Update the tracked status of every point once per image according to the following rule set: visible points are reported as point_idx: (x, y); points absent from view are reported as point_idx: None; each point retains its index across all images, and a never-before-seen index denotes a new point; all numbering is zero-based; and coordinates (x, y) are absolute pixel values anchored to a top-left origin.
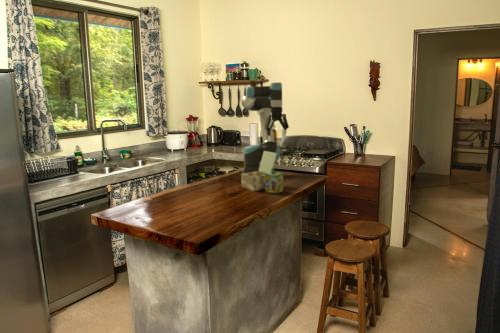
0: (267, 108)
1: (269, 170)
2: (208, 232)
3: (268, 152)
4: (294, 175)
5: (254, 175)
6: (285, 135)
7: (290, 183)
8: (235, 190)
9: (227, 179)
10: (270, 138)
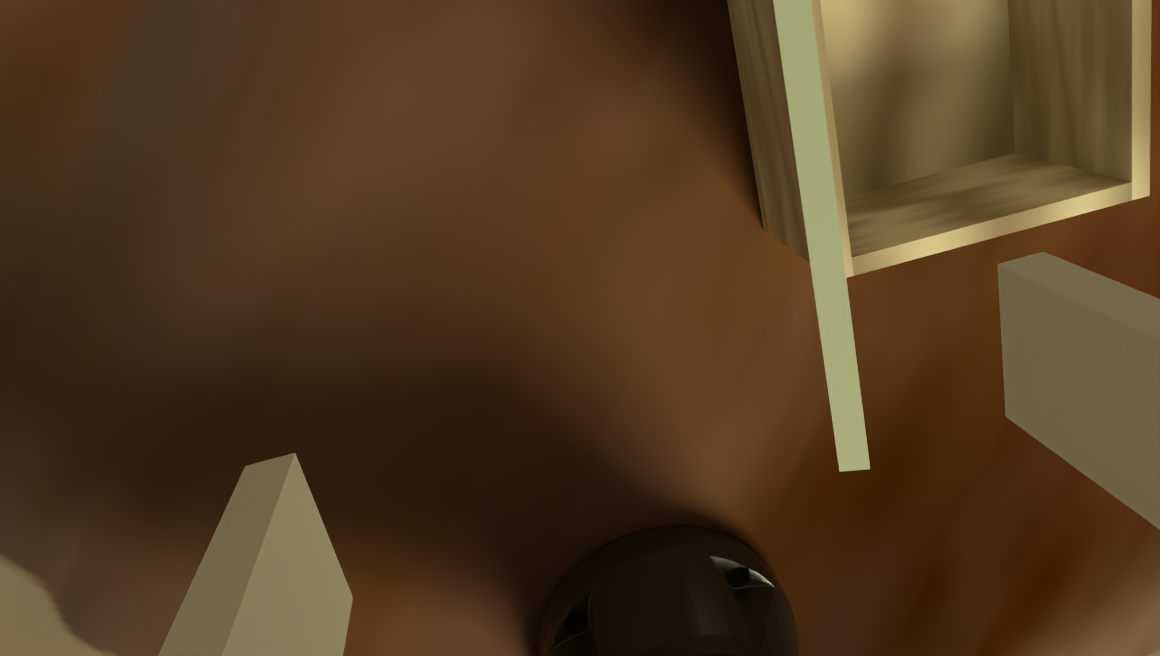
0: None
1: None
2: None
3: (844, 271)
4: (118, 506)
5: (897, 226)
6: (218, 556)
7: (353, 67)
8: (1156, 35)
9: (967, 596)
10: (1107, 292)
